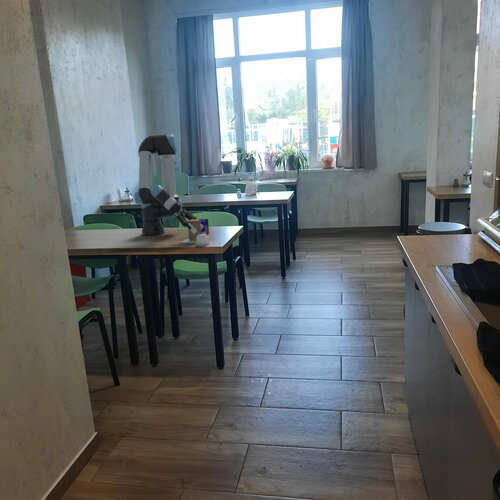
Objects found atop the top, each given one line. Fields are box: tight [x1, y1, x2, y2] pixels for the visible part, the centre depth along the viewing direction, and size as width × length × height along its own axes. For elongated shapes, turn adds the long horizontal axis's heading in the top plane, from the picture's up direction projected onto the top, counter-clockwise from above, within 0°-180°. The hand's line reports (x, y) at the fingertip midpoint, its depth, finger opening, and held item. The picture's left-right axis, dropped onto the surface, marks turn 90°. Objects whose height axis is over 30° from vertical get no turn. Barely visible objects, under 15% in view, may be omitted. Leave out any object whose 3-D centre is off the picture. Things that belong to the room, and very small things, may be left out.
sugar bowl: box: [196, 234, 210, 247], centre depth 271 cm, size 7×7×6 cm
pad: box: [180, 236, 211, 244], centre depth 284 cm, size 14×14×1 cm
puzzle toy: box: [199, 218, 210, 236], centre depth 299 cm, size 10×10×10 cm
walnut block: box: [187, 218, 201, 241], centre depth 282 cm, size 6×6×12 cm
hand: (199, 230), depth 282 cm, fingers open, 12 cm apart
